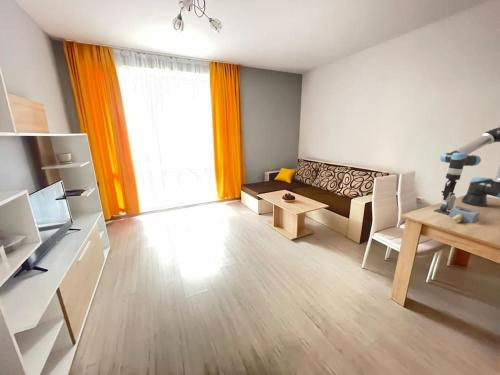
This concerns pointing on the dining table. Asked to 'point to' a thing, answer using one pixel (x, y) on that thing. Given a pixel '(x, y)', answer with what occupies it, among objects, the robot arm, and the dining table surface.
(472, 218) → the block
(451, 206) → the can
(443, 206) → the silver tall rounded piece
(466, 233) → the dining table surface
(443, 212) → the mat
